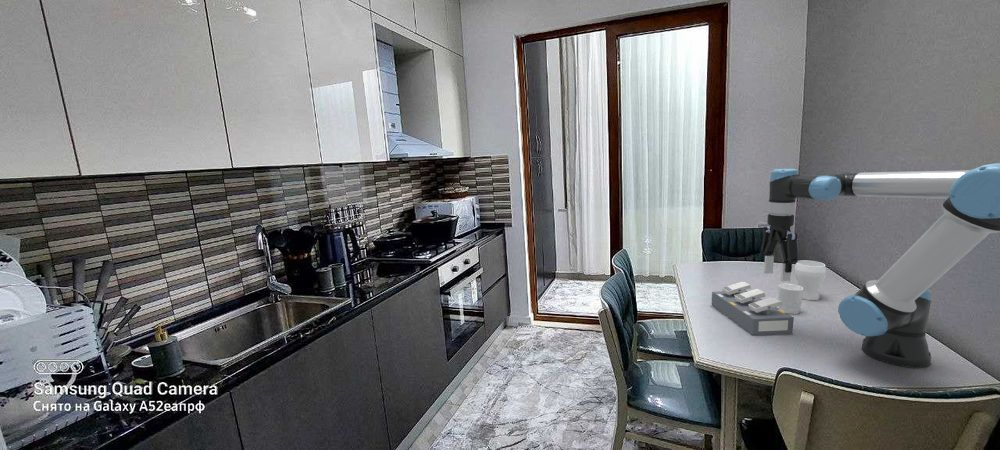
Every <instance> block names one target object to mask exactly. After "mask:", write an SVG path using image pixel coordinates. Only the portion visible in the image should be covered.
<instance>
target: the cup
mask: <svg viewBox="0 0 1000 450" xmlns="http://www.w3.org/2000/svg"><path fill="white" fill-rule="evenodd" d="M793 272H794V276H795V279H796V280H797V282H798V283H797V285H798V286H801V287H803V295H802V300H807V301H818V300H820V291H819V289H820V286H821V284H822V283H823V282H824V280H825V278H826V275H827V267H826V264H825V263H823V262H820V261H817V260H816V261H815V260H806V259H805V260H802V259H801V260H798V262H797V263H795V265H794V271H793Z"/></svg>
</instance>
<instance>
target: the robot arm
mask: <svg viewBox="0 0 1000 450" xmlns="http://www.w3.org/2000/svg"><path fill="white" fill-rule="evenodd" d="M768 196H769V197H768V203H767V204H768V206H767V212H768V215H767V225H768V226H764V227H763V236H762V240H761V241H762V242H761V246H760V253H763V255H764V258H763V259H764V261H763V262H764V266H763V274H765V275H766V274H774V260H775V256H774V255H775V254H774V252H775V249H776V246H777V244H779V245H780V249H781V254H782V260H783V261H782V262H781V271H780V272H781V273H780V281H781V282H790V281H791V275H792V269H793V264H796V263H797V262H798V261H799V259H798V257H799V256H798V245H797V239H798V233H796V232H795V233H793V232H792V231H791V227H793V226H794V224H795V215H794V214H795V209H796V199H805V200H816V201H833V200H835V199H836V198H837V197H870V198H871V197H872V198H902V199H903V198H904V199H905V198H906V199H907V198H908V199H912V198H913V199H936V200H937V199H941V200H942V199H943V200H945V201H944V202H943V203H942V204H941V208H942V210H943V211H942V212H943V214H941V216H940V217H939V218H938V219H937V220H936V221H935V222H934V223H933V224H931V226H930V227H928V229H927V230H926V231H925V232H924V233H923V234H922V235H921V236H920V237H919V238H918V239H917V240H916V241H915V242H914V243H913V244H912V245H911V246H910V247H909V248H908V249H907V251H905V252H904V253H903V254H902V256H901V257H900V258H898V259H897V261H895V262H894V263H893V264H892V266H891V267H890V268H889V269H888V270H886V272H885V273H884V274H882V276H881V277H880V278H879V279H872V280H871V279H870V280H868V281H866V283H865V284H864V285H862V286H861V288H860V289H858V291H857V292H856V293H855V294H853V295H848V296H847V297H845V298H843V299H842V300H841V301H840V302H839V303H838V307H837V313H838V315H839V318H840V320H841V322H842V323H843V324H844V326H846V328H848V329H849V330H850V331H852V332H853V333H856V334H857V335H860V336H862V337H863V336H865V337H863V339H862V342H861V350H862V351H863V352H864V353H865V354H866V355H867V356H869V357H871V358H874V359H876V360H879V361H881V362H884V363H887V364H892V365H895V366H900V367H905V368H927V367H929V366H930V365H931V364H932V363H931V362H932V354H931V352H930V350H929V345H928V342H927V339H926V335H927V329H928V324H929V323H928V321H929V316H930V315H929V314H930V309H931V303H932V291H931V290H930V289H929V288H930V287H932V286H933V285H934V284H935V283H936V282H937V281H938V280H940V278H942V277H943V276H944V275H945V274H946V273H947V272H948V271H949V270H951V269H952V268H953V267H954V266H955V265H956V264H957V263H958V262H959V261H961V260H962V259H963V258H964V257H965V256H966V255H968V253H970V251H972V250H973V249H974V248H976V246H977V245H979V243H981V242H982V241H983V240H984V239H985V238H986V237H988V236H989V234H995V233H996V234H997V233H1000V162H998V163H997V162H995V163H989V164H984V165H981V166H978V167H975V168H973V169H967V170H966V169H963V170H962V169H960V170H959V169H958V170H957V169H956V170H920V171H919V170H917V171H916V170H914V171H913V170H910V171H875V172H873V171H872V172H870V171H869V172H868V171H867V172H852V171H847V172H846V171H844V172H840V173H829V174H828V173H827V174H819V175H818V174H817V175H801V174H799V173H798V169H796V168H775V169H773V170H771V172H770V180H769V195H768Z"/></svg>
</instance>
